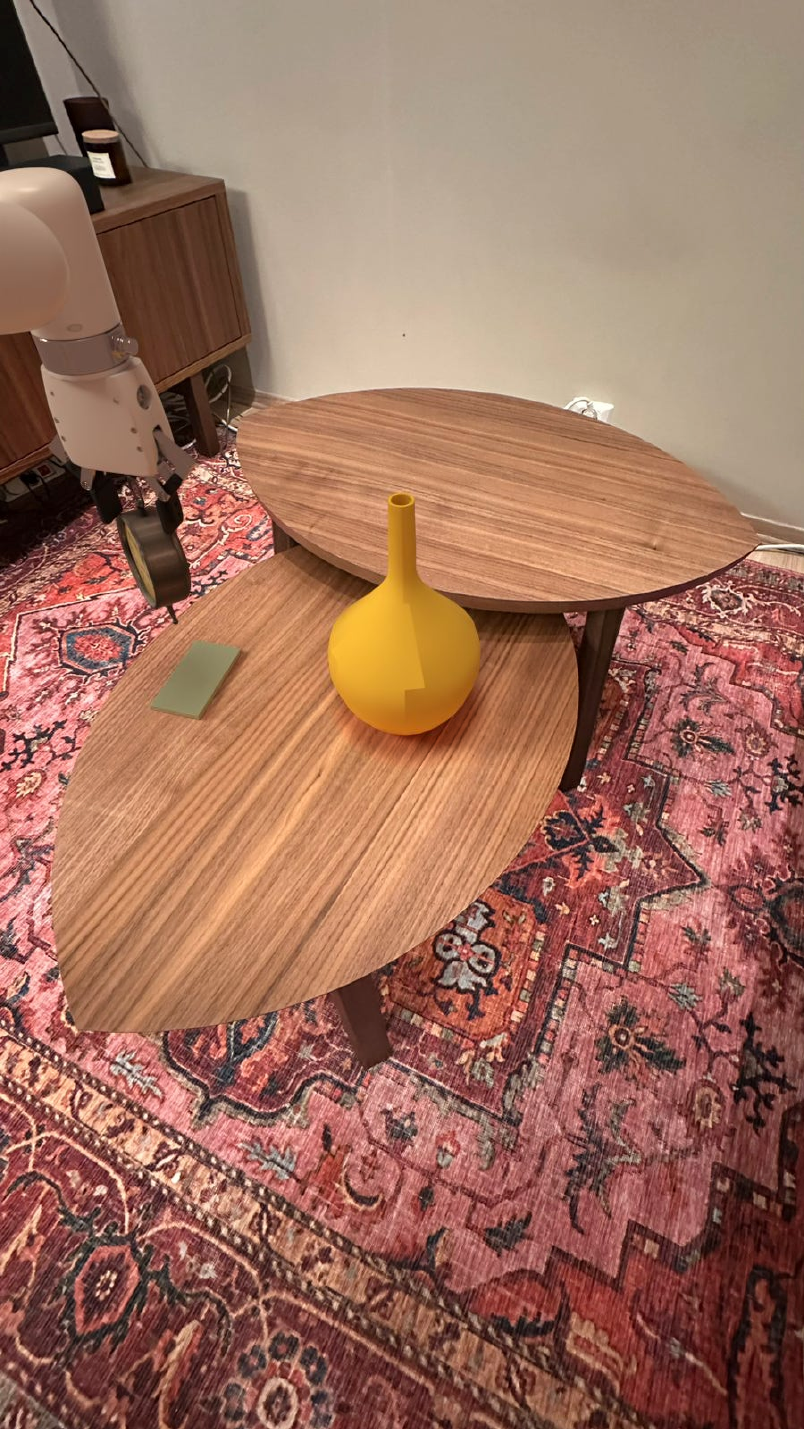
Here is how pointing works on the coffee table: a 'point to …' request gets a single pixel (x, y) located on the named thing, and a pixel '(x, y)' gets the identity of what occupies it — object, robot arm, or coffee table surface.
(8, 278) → the robot arm
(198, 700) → the green rectangular slab
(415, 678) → the vase
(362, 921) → the coffee table surface
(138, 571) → the alarm clock
